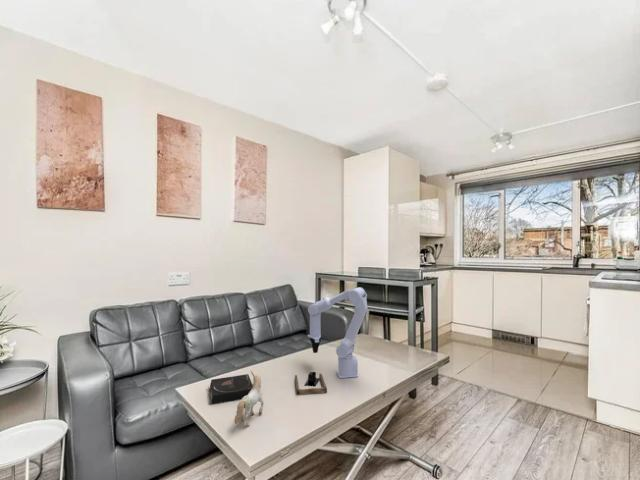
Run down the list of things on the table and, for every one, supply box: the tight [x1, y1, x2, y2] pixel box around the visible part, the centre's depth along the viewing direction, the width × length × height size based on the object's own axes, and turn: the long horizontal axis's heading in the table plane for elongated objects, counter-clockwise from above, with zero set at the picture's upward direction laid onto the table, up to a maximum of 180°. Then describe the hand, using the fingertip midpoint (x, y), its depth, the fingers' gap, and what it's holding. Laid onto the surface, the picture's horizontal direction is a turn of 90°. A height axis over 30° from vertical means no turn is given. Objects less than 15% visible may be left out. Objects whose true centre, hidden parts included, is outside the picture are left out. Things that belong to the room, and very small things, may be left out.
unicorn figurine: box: [233, 370, 265, 428], centre depth 111 cm, size 7×20×13 cm, turn 176°
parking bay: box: [294, 373, 328, 396], centre depth 137 cm, size 13×16×2 cm
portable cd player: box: [209, 373, 253, 405], centre depth 131 cm, size 16×17×4 cm
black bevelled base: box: [304, 371, 320, 388], centre depth 141 cm, size 12×7×5 cm, turn 168°
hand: (315, 352), depth 158 cm, fingers closed
